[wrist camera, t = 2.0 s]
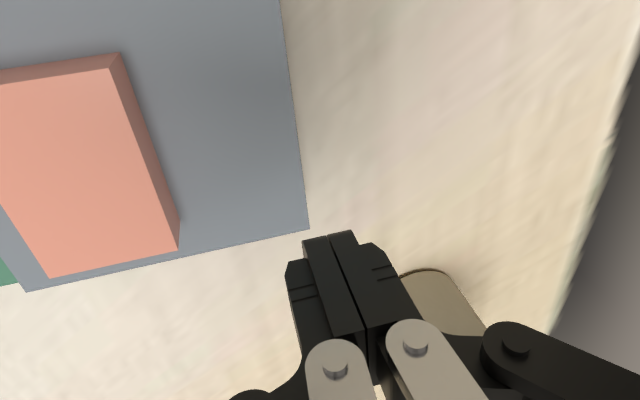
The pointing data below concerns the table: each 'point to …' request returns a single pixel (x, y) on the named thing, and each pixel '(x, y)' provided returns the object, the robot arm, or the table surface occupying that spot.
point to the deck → (182, 112)
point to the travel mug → (442, 304)
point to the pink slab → (81, 166)
